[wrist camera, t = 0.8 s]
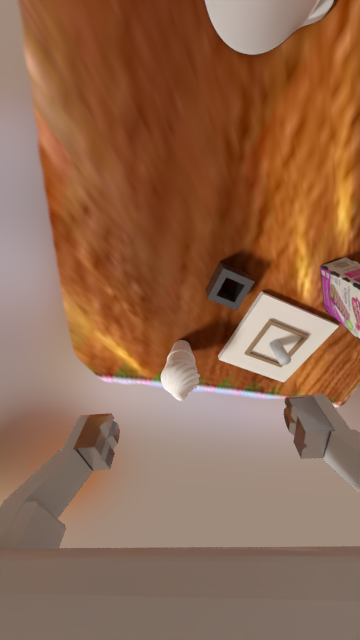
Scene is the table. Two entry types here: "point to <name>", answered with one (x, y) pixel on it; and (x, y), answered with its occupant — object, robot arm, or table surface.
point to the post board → (275, 338)
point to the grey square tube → (239, 289)
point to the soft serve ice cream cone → (180, 371)
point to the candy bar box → (342, 292)
